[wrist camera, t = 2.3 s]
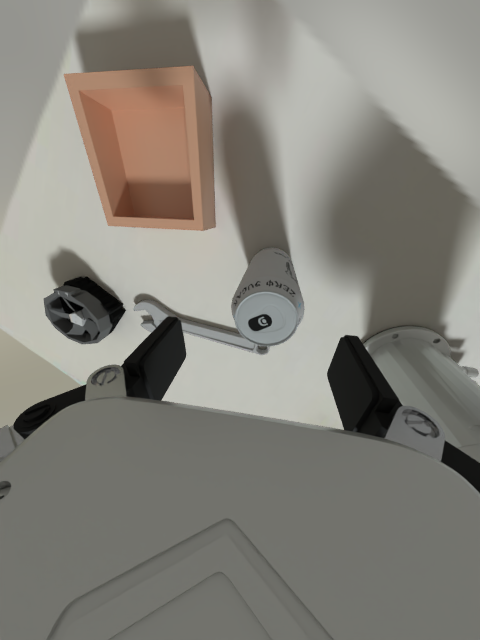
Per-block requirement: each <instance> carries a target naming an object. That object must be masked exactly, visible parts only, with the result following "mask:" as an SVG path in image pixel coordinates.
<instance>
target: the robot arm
mask: <svg viewBox="0 0 480 640" xmlns="http://www.w3.org/2000/svg"><path fill="white" fill-rule="evenodd" d="M450 355H451V352H450V347H449V344H448V343H447V341H446V340H445V339H444V338H443V337H442V336H440V335H439V334H438V333H436V332H434V331H432V330H430V329H427V328H423V327H416V326H404V327H398V328H393V329H389V330H386V331H383V332H381V333H379V334H377V335H375V336H373V337H372V338H370V339H369V340H367V341H366V342H365V343H364V344H363V343H362V342H361V340H360V339H359V337H358V336H350V335H345V336H344V337H341V338H340V341H339V343H338V346H337V349H336V351H335V354H334V356H333V359H332V362H331V364H330V367H329V369H328V373H327V377H328V380H329V383H330V387H331V390H332V393H333V396H334V399H335V402H336V405H337V408H338V412H339V415H340V418H341V421H342V424H343V427H344V430H341V429H335V428H330V427H324V426H318V425H312V424H306V423H300V422H294V421H288V420H281V419H275V418H269V417H263V416H257V415H250V414H244V413H238V412H232V411H225V410H219V409H213V408H206V407H200V406H193V405H187V404H180V403H174V402H167V401H161V400H162V398H163V396H164V395H165V393H166V391H167V389H168V388H169V386H170V384H171V383H172V381H173V379H174V377H175V376H176V374H177V372H178V370H179V369H180V367H181V365H182V363H183V362H184V360H185V358H186V349H185V343H184V336H183V330H182V324H181V320H179V319H178V318H177V317H170V316H168V317H166V318H165V319H164V320H163V321H162V322H161V323H160V324H159V326H158V327H157V328H156V329H155V330H154V331H153V332H152V333H151V334H150V335H149V336H148V337H147V338H146V339H145V340H144V341H143V342H142V343H141V344H140V345H139V346H138V347H137V348H136V349H135V350H134V351H133V353H132V354H131V355H130V356H129V357H128V358H127V359H126V360H125V361H124V364H123V365H122V366H119V365H108V366H104V367H102V368H100V369H98V370H96V371H95V372H93V373H92V374H91V375H90V376H89V378H88V380H87V384H86V385H83V386H81V387H78V388H76V389H73V390H70V391H68V392H65V393H63V394H60V395H57V396H55V397H52V398H49V399H47V400H44V401H41V402H39V403H37V404H35V405H33V406H31V407H30V408H28V409H27V410H25V411H24V412H23V413H22V414H20V416H19V417H18V418H17V419H16V421H15V423H14V425H13V426H11V427H9V426H8V425H6V426H4V427H3V428H0V640H480V386H479V385H478V384H477V383H476V381H474V380H472V379H471V378H470V377H477V376H478V374H479V373H478V370H477V369H475V368H472V367H461V366H459V365H458V364H457V363H456V362H455V361H454V360H452V359H451V358H450Z"/></svg>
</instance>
